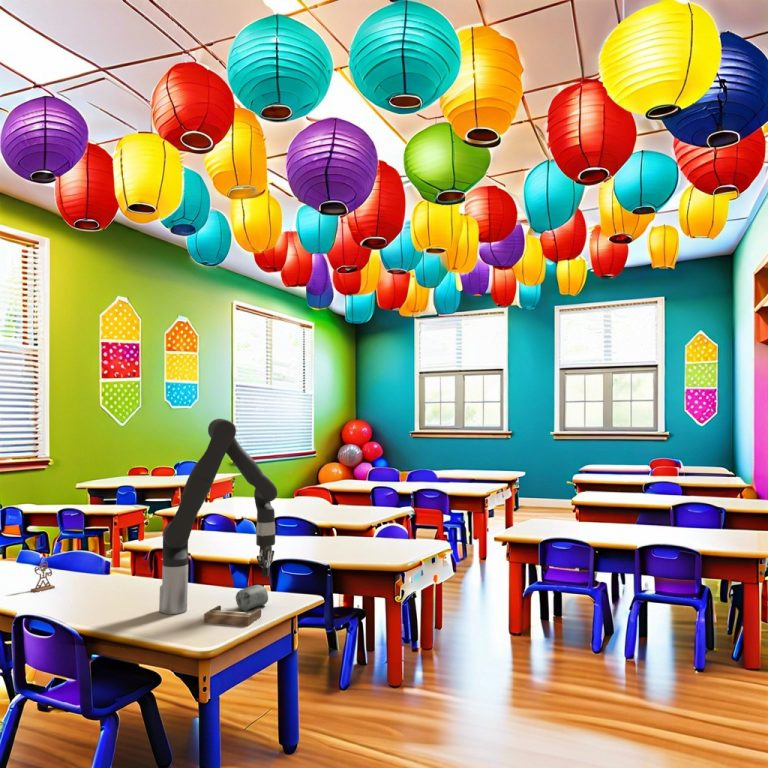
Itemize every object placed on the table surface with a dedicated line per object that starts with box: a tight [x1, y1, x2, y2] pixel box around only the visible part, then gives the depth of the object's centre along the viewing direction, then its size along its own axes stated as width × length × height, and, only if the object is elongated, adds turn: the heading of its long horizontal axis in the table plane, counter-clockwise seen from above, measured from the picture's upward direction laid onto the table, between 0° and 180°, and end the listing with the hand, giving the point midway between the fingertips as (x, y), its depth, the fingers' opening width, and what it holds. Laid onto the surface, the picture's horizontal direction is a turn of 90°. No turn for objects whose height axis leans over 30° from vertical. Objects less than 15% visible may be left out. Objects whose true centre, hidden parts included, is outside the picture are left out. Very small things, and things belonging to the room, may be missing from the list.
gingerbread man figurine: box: [30, 560, 56, 593], centre depth 287 cm, size 9×4×12 cm, turn 154°
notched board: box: [203, 605, 262, 627], centre depth 246 cm, size 17×11×4 cm, turn 77°
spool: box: [235, 584, 269, 612], centre depth 262 cm, size 14×10×10 cm
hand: (265, 576), depth 274 cm, fingers closed
